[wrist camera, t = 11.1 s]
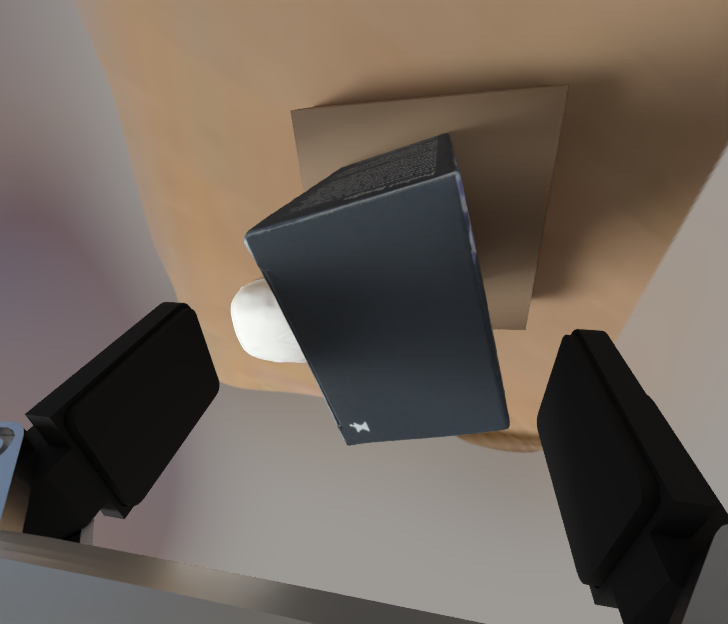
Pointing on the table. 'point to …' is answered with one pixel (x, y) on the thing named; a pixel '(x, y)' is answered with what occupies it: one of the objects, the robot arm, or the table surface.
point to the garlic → (263, 325)
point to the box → (388, 297)
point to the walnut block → (461, 168)
